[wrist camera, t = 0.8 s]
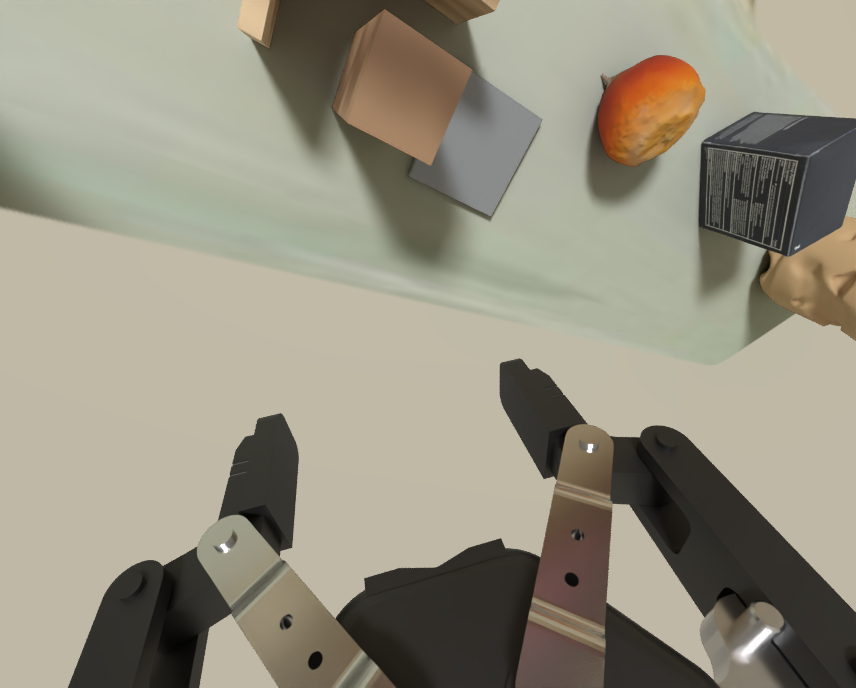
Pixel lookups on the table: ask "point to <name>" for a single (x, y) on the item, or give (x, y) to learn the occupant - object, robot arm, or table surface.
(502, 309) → the table surface
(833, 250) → the container
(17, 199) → the table surface
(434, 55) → the plate
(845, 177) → the small box
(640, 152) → the fruit
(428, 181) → the mat
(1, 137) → the table surface
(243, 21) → the shelf end
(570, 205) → the table surface
